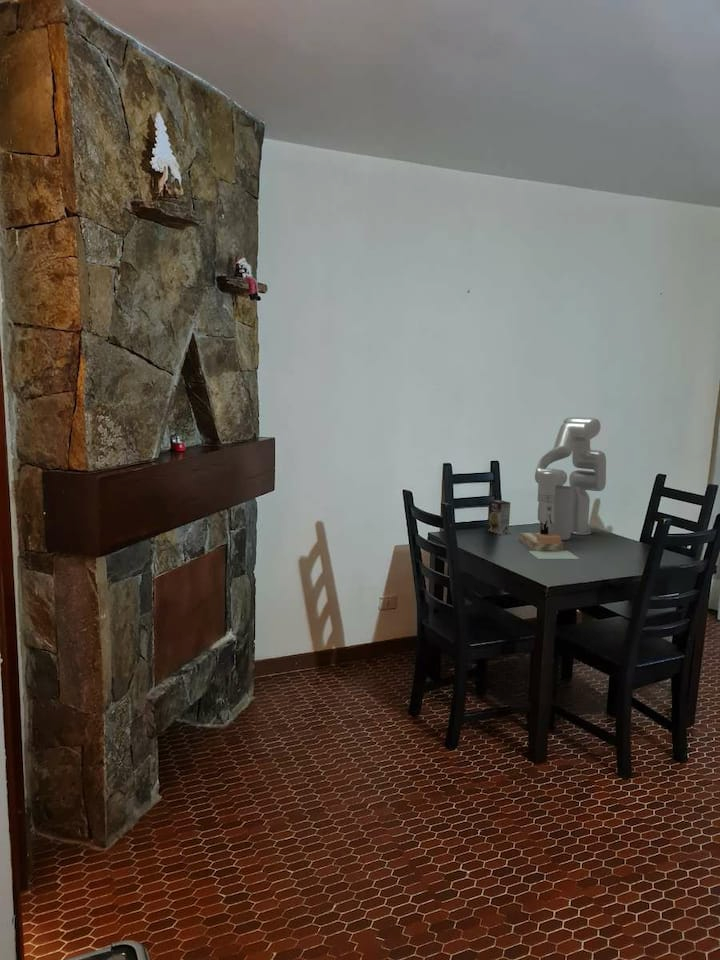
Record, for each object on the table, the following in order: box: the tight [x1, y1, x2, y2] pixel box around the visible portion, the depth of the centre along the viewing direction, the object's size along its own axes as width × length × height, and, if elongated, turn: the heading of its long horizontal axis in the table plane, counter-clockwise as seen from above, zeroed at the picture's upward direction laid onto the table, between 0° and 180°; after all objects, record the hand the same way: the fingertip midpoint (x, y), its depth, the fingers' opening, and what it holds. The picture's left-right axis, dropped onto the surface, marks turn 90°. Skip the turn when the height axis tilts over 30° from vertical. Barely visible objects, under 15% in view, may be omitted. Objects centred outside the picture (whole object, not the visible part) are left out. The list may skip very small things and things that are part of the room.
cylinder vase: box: [548, 485, 573, 541], centre depth 339 cm, size 12×12×25 cm
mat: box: [528, 550, 580, 560], centre depth 306 cm, size 18×14×1 cm
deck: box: [519, 532, 564, 551], centre depth 323 cm, size 14×20×4 cm
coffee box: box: [487, 499, 511, 535], centre depth 350 cm, size 9×6×16 cm
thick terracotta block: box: [537, 534, 562, 544], centre depth 313 cm, size 9×6×3 cm, turn 95°
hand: (544, 537), depth 318 cm, fingers closed
